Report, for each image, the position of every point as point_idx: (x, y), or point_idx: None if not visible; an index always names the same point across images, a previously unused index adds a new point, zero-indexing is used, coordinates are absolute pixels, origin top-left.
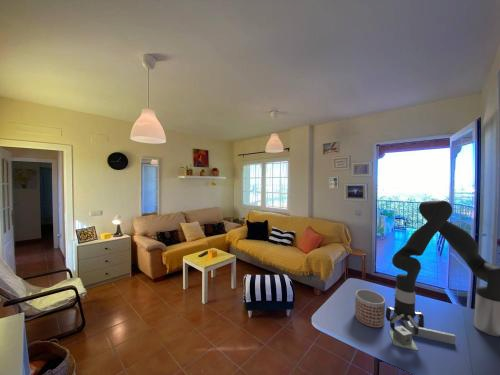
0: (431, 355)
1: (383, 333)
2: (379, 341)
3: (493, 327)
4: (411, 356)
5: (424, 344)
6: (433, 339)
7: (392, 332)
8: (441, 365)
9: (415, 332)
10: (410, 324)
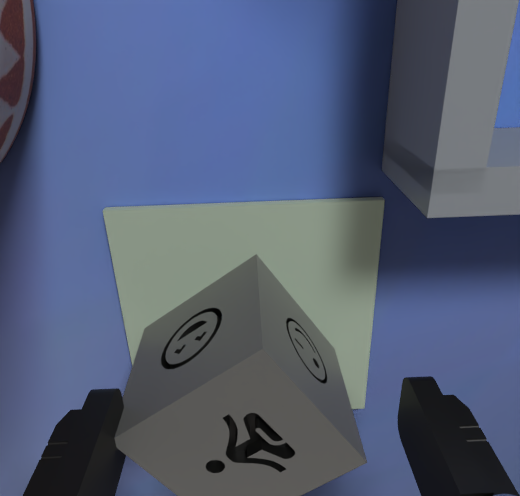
0: None
1: (38, 283)
2: (3, 421)
3: None
4: None
5: (483, 290)
6: None
7: (149, 236)
8: None
9: (419, 473)
10: (470, 140)
